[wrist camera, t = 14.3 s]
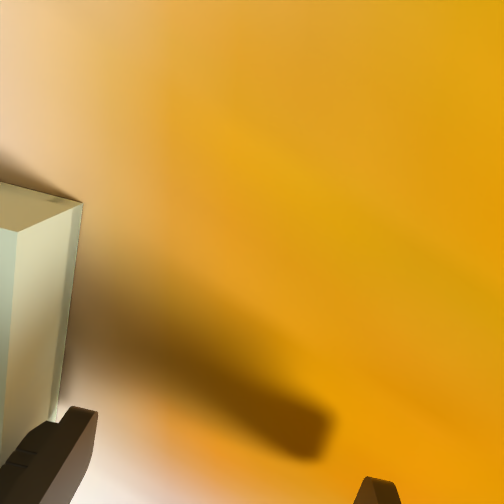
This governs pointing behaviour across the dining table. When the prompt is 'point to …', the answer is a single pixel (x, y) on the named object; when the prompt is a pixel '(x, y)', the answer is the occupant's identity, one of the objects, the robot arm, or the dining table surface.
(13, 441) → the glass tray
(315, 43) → the dining table surface
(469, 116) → the dining table surface
